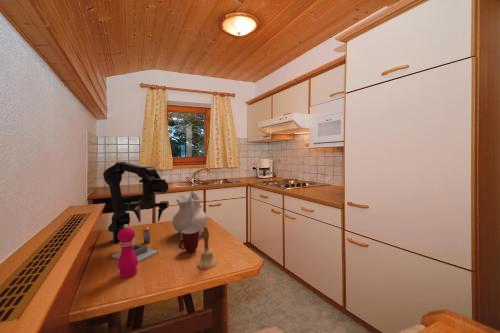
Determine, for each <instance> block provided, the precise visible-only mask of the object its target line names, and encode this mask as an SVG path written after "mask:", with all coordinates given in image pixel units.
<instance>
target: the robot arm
mask: <svg viewBox="0 0 500 333" xmlns="http://www.w3.org/2000/svg"><path fill="white" fill-rule="evenodd" d="M125 172H128V173H132V174H135V175H137V177H139V178H141V179H140V180H139V181H138V182H139V183H141V184H142V185H141V186H142V189H141V190H142V195H141V199H140V201H131V202H129V203H128V205H127V210H128V211H129V210H130V212H133V213H134V215H135V216H136V219H137V221H138V223H141V220H142V219H141V218H142V216H141V210H150V209H151V208H158V209H157V210H158V213H157V215H158V216H157V222H160V220H161V217H162V215H163V212H164V211H165V210H166V209H168V208H169V206H170V202H169V201H168V200H160V202H156V198H155V197H156V193H161V194H166V193H167V192H168V191H169V184H168V182H167V181H166V179H165V178H163V179H162V178H161V176H160V174H159V173H158V171H157V170H156V167H155V166H142V165H137V164H133V163H130V162H126V161H117V162H116V163H115V164H113V165H112V166H109V167H108V168H107V169H105V170H104V171H103V174H102V177H103V179H104V183H106V184H107V185H108V186H109V191H110V197H111V198H110V199H111V203H112V209H113V214H112V217H111V222H110V224H109V226H108V227H107V230H108V232H111V233H112V239H111V240H110V242H112V243H114V244H120V243H119V242H120V240H119V239H118V233H119V231H120V230H122V229H124V228H123V226H124V225H125V224H127V225H128V226H130V222H131V216H130V213H129V212H127V211H126V210H125V206H124V201H123V196H122V190H121V182H122V179H123V175H124V174H125Z"/></svg>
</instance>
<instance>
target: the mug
mask: <svg viewBox="0 0 500 333" xmlns="http://www.w3.org/2000/svg"><path fill="white" fill-rule="evenodd" d="M181 234H182V237H181V240H180V241H179V244H178V247H179V249H180V250H185V251H186V253H189V254H192V253H195V252H196V251H197V249H198V246H199V240H200V236H199V230H198V229H196V228H190V229H185V230H183V231H182V233H181Z"/></svg>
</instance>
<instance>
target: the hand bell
mask: <svg viewBox="0 0 500 333" xmlns="http://www.w3.org/2000/svg"><path fill="white" fill-rule="evenodd" d="M202 239H203V242H204V243H203V244H204V245H203V246H204V249H203V250H201V253H200V259H199V260H198V262H197V264H196V265H197V266H196V267H198V268H199V269H206V270H207V269H210V268H211V269H212V268H214V267H215V266H217V265H218V262H217V260H216V259H215V258H214V255H213V250H211V249H209V239H210V232H209V229H208V227H207V226H205V227H204V229H203V230H202Z"/></svg>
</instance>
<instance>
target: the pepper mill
mask: <svg viewBox="0 0 500 333" xmlns="http://www.w3.org/2000/svg"><path fill="white" fill-rule="evenodd" d="M129 226H130V225H129ZM129 226H128V225H127V224H125V225H124V226H123V228H124V229H122V230H120V231H119V233H118V239H119V240H120V242H119V243H118V244H119V246H120V252H121V255H120V258H119V259H117V265H116V266H117V267H116V268H117V269H118V270H119V271H118V272H119V273H118V276H119V278H121V279H131V278H132V277H135V276H136V275H137V274H138V268H137V266H138V265H139V263H138V259H137V256H136V255H135V253H134V250H133V245H135V242H134V241H135V240H134V238H135V236H136V231H135V230H134V229H133V228H132V227H129Z"/></svg>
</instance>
